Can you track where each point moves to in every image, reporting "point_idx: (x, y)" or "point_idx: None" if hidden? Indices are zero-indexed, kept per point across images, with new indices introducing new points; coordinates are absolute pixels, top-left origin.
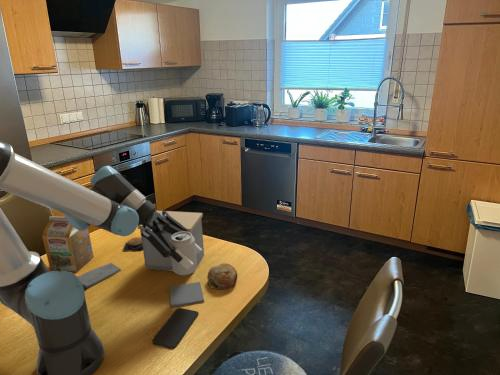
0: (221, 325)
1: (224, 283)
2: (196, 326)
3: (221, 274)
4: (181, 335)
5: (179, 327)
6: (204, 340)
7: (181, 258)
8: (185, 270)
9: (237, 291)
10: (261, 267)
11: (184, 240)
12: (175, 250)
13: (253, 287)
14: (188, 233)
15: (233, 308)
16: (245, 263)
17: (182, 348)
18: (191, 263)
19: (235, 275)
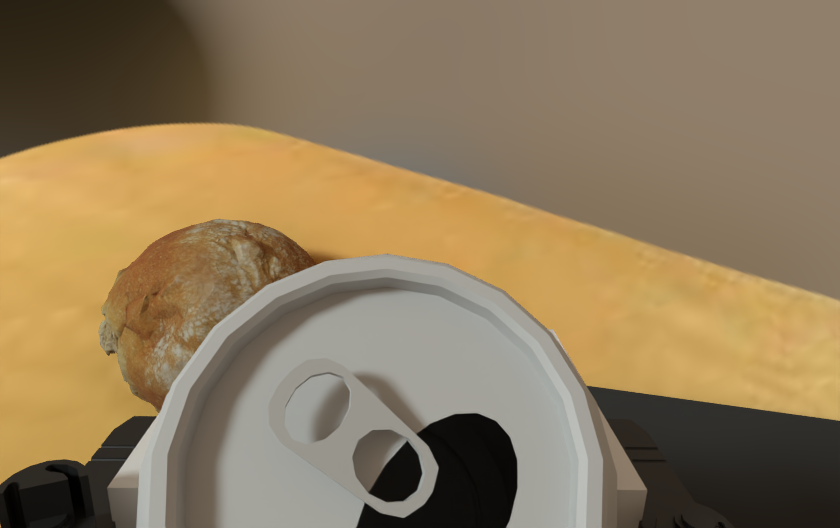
0: (619, 250)
1: None
2: (668, 368)
3: (280, 279)
4: (774, 420)
5: (723, 456)
6: (743, 300)
7: (614, 427)
8: (502, 457)
9: (333, 229)
10: (85, 147)
11: (548, 331)
12: (634, 512)
13: (289, 161)
14: (223, 365)
15: (481, 222)
16: (22, 237)
17: (837, 388)
18: (556, 337)
19: (242, 221)
